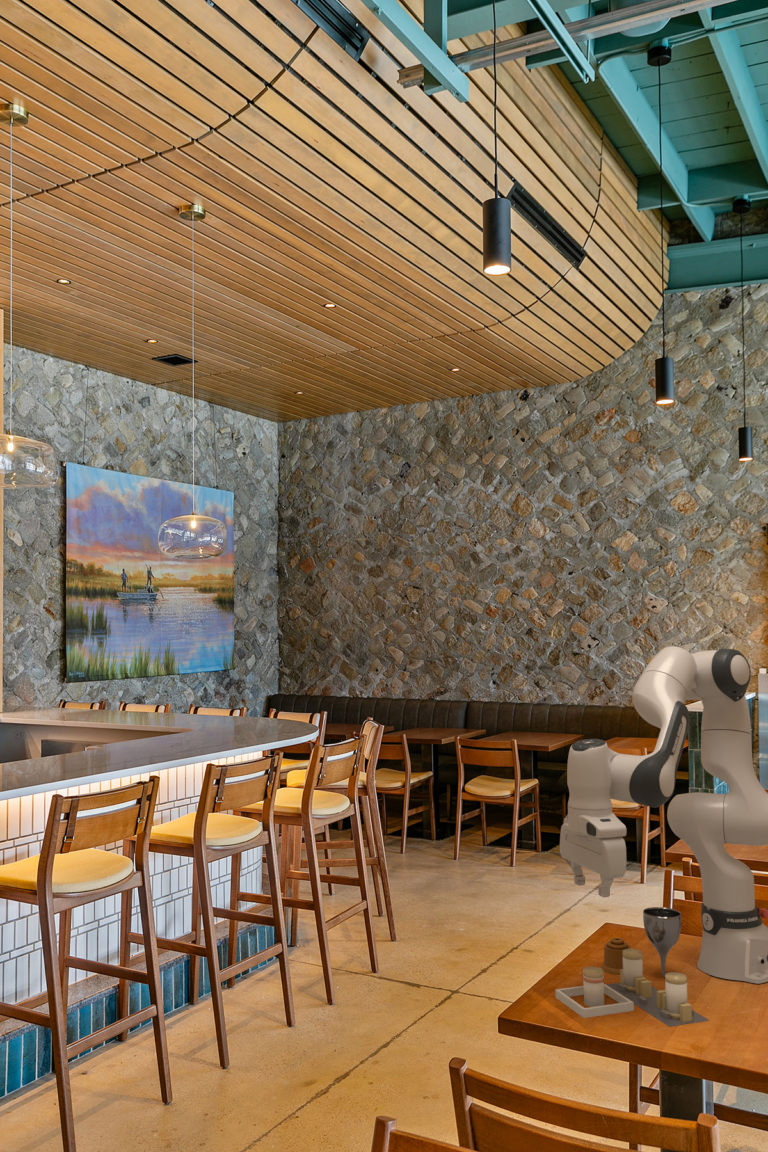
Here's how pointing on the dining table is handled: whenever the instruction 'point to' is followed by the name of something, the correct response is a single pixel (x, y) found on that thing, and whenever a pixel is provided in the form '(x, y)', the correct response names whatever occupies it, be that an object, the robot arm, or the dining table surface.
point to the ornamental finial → (614, 956)
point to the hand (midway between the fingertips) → (591, 890)
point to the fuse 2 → (675, 993)
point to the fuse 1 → (632, 968)
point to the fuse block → (656, 1002)
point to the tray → (622, 1006)
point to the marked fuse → (593, 986)
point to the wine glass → (662, 930)
